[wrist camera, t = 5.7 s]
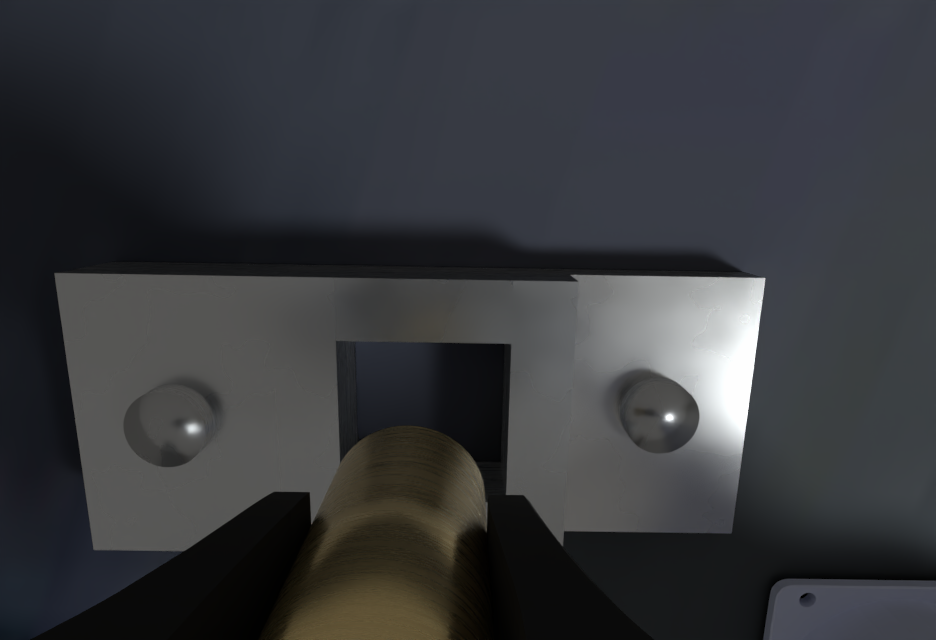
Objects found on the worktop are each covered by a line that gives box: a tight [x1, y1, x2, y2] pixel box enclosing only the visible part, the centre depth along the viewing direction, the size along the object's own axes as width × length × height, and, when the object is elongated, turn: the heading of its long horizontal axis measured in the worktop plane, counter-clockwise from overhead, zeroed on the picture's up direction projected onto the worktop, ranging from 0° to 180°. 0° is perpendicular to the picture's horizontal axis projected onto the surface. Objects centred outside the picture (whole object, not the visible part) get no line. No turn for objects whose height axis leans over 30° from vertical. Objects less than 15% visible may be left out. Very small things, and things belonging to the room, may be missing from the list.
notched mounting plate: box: [54, 262, 765, 551], centre depth 16 cm, size 18×8×3 cm, turn 89°
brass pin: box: [258, 426, 494, 640], centre depth 8 cm, size 3×3×7 cm
